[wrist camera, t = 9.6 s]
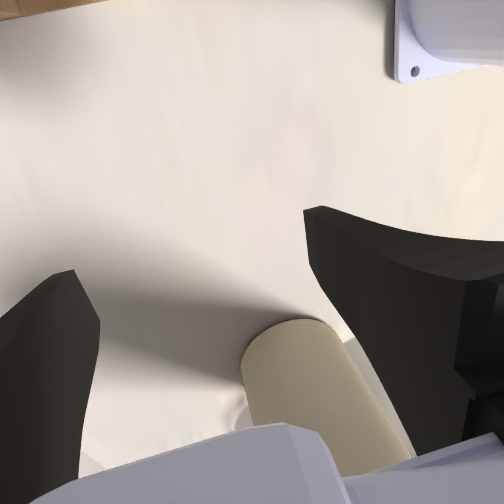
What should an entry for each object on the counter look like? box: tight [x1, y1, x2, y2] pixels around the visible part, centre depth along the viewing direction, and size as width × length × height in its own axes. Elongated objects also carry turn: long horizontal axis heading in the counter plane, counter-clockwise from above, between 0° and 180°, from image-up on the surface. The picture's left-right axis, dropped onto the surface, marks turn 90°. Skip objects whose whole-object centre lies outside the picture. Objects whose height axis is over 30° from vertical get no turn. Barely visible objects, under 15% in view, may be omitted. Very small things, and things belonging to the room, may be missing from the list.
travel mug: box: [241, 319, 412, 477], centre depth 21 cm, size 8×8×18 cm
